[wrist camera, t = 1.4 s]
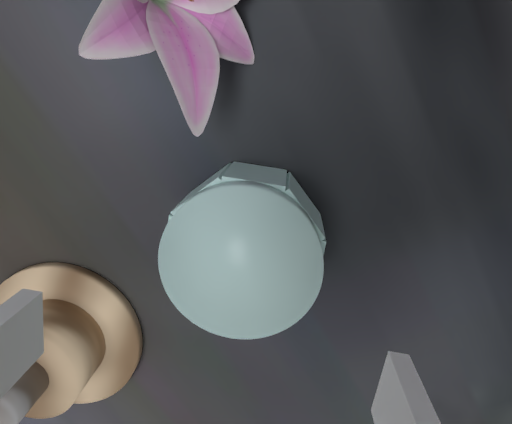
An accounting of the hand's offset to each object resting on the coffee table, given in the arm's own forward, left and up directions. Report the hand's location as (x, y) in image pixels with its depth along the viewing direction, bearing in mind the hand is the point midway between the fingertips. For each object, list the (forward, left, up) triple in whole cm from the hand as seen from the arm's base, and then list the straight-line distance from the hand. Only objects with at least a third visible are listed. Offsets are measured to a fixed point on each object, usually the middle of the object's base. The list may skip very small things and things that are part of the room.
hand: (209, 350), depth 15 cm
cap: (0, 0, -13) cm, 13 cm away
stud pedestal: (+13, +11, -13) cm, 21 cm away
